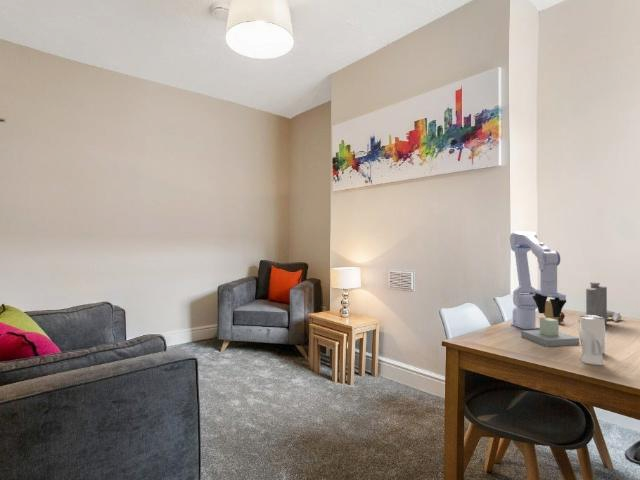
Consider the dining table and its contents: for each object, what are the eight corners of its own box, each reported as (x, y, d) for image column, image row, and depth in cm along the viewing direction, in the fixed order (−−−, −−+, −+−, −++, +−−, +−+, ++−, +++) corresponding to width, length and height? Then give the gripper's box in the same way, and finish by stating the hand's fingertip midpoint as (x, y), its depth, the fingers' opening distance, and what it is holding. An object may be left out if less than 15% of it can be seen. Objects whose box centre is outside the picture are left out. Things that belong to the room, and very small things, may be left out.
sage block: (539, 333, 148) (539, 318, 148) (549, 332, 149) (549, 317, 149) (548, 336, 143) (548, 321, 143) (558, 335, 144) (558, 320, 144)
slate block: (521, 337, 152) (521, 330, 152) (550, 336, 154) (550, 329, 154) (546, 347, 138) (546, 340, 138) (579, 345, 140) (579, 338, 140)
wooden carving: (569, 325, 170) (568, 303, 170) (559, 325, 170) (559, 304, 170) (547, 317, 186) (547, 297, 186) (538, 317, 186) (538, 298, 186)
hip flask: (593, 328, 163) (593, 284, 163) (582, 327, 166) (582, 283, 166) (607, 323, 172) (607, 281, 171) (597, 322, 175) (597, 280, 175)
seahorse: (601, 323, 169) (627, 313, 176) (576, 311, 178) (602, 301, 186) (598, 332, 171) (624, 322, 178) (573, 319, 180) (599, 310, 188)
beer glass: (573, 359, 124) (573, 315, 124) (593, 358, 124) (592, 314, 124) (590, 366, 117) (590, 319, 117) (610, 365, 117) (610, 319, 117)
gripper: (526, 279, 153) (526, 311, 153) (554, 283, 138) (554, 319, 138) (541, 279, 154) (541, 310, 154) (570, 283, 139) (570, 318, 140)
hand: (548, 315), depth 146 cm, fingers open, 7 cm apart
